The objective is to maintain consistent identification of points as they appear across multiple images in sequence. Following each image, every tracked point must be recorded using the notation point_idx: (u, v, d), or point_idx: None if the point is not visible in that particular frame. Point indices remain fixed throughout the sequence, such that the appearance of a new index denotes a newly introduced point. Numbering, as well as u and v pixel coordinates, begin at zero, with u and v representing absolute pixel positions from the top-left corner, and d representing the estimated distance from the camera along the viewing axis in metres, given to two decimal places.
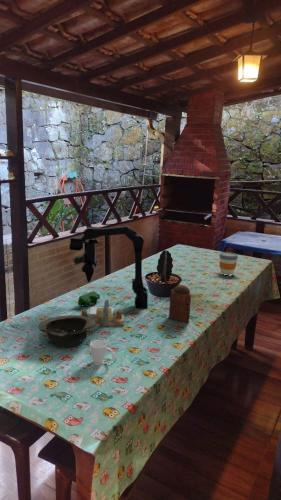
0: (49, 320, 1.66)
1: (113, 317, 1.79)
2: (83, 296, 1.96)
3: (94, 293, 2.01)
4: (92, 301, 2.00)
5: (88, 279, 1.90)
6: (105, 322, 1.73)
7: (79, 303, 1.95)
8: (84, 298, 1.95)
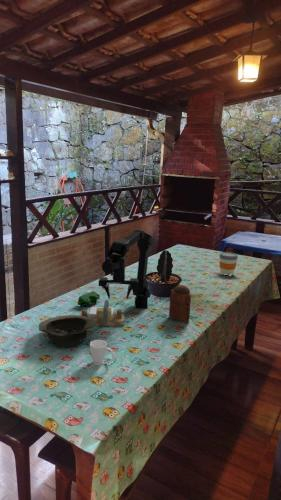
0: (49, 320, 1.66)
1: (113, 317, 1.79)
2: (83, 296, 1.96)
3: (94, 293, 2.01)
4: (92, 301, 2.00)
5: None
6: (105, 322, 1.73)
7: (79, 303, 1.95)
8: (84, 297, 1.95)
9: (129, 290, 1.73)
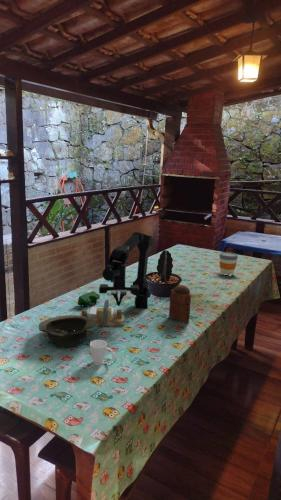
0: (49, 320, 1.66)
1: (113, 317, 1.79)
2: (83, 296, 1.96)
3: (94, 293, 2.01)
4: (92, 301, 2.00)
5: None
6: (105, 322, 1.73)
7: (79, 303, 1.96)
8: (84, 297, 1.95)
9: (121, 297, 1.74)
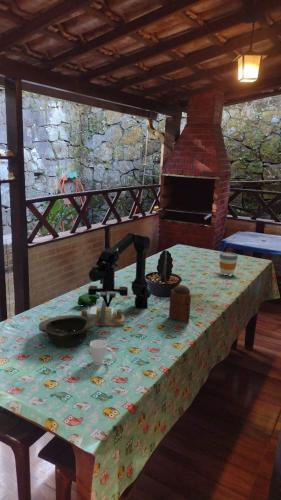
0: (49, 320, 1.66)
1: (113, 317, 1.79)
2: (83, 296, 1.96)
3: None
4: (92, 301, 2.00)
5: (106, 304, 1.77)
6: (103, 322, 1.73)
7: (79, 303, 1.96)
8: (84, 297, 1.95)
9: (110, 298, 1.73)
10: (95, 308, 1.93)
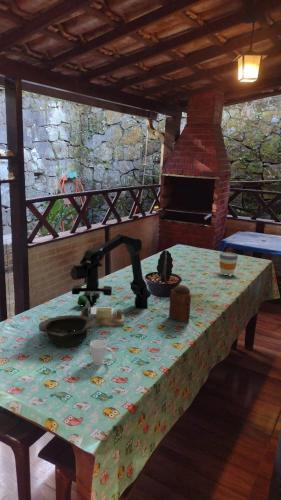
0: (49, 320, 1.66)
1: (113, 317, 1.79)
2: (83, 296, 1.96)
3: None
4: None
5: None
6: None
7: (79, 303, 1.96)
8: (84, 297, 1.95)
9: (94, 298, 1.73)
10: (95, 308, 1.93)
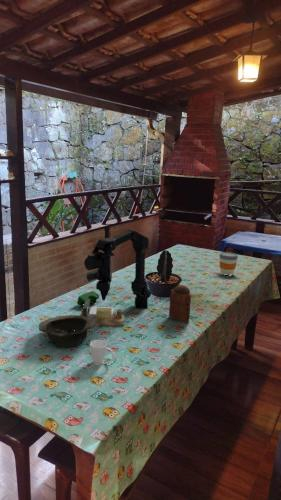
0: (49, 320, 1.66)
1: (113, 317, 1.79)
2: (82, 296, 1.96)
3: (93, 293, 2.02)
4: (91, 301, 2.00)
5: (103, 297, 1.71)
6: None
7: (79, 303, 1.96)
8: (84, 297, 1.95)
9: (110, 282, 1.80)
10: (95, 308, 1.93)
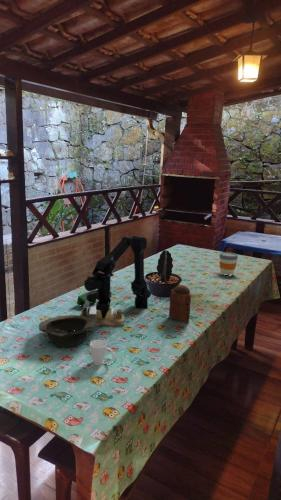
0: (49, 320, 1.66)
1: (113, 317, 1.79)
2: (82, 296, 1.96)
3: None
4: (91, 301, 2.01)
5: (103, 315, 1.75)
6: None
7: (78, 303, 1.96)
8: (84, 297, 1.95)
9: (109, 303, 1.80)
10: (95, 308, 1.93)
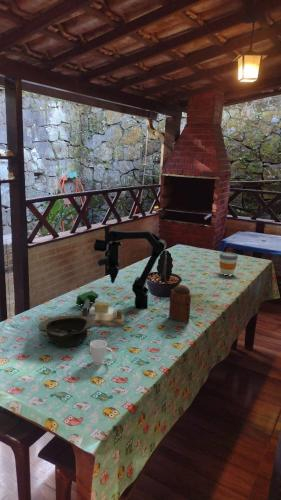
0: (49, 320, 1.66)
1: (113, 317, 1.79)
2: (81, 295, 1.97)
3: (92, 292, 2.02)
4: (90, 300, 2.01)
5: (112, 280, 1.95)
6: None
7: (78, 303, 1.96)
8: (83, 297, 1.96)
9: None
10: None
